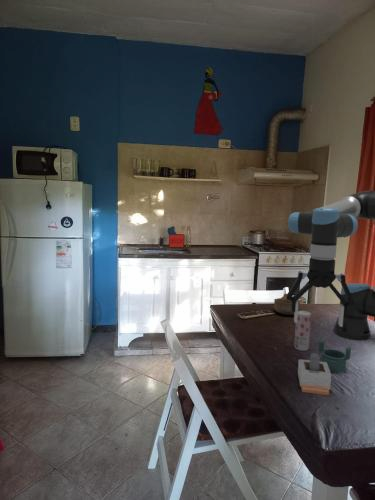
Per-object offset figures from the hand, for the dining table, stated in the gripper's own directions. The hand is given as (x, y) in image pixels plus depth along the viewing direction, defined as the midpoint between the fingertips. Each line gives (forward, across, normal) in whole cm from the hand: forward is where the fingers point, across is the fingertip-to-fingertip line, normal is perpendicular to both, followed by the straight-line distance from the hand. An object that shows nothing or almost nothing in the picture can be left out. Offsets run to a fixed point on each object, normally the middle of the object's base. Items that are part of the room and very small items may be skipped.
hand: (317, 323), depth 113 cm
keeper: (+21, 0, 0) cm, 21 cm away
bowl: (+21, +5, -76) cm, 79 cm away
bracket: (+21, -8, -14) cm, 27 cm away
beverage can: (+21, +1, -29) cm, 36 cm away
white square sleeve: (+20, 0, 0) cm, 20 cm away
